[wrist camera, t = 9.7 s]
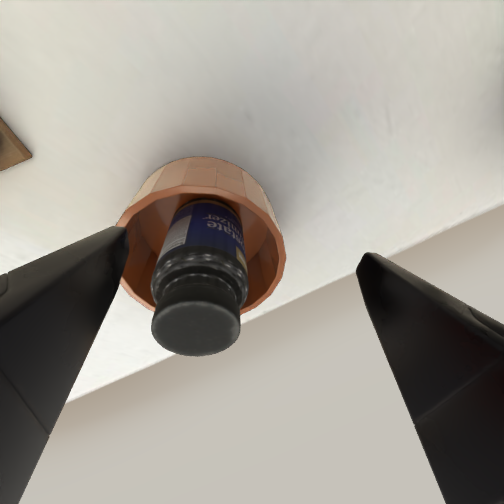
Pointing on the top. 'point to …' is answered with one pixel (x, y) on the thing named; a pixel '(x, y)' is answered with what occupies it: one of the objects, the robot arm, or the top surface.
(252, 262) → the bowl
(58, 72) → the top surface
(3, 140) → the figurine
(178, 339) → the pill bottle
